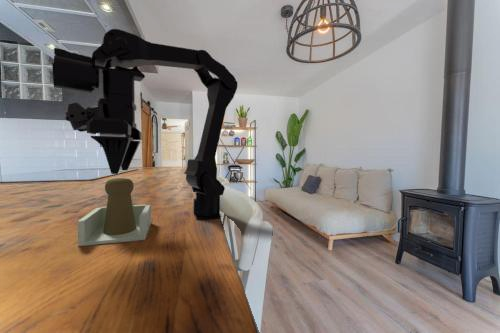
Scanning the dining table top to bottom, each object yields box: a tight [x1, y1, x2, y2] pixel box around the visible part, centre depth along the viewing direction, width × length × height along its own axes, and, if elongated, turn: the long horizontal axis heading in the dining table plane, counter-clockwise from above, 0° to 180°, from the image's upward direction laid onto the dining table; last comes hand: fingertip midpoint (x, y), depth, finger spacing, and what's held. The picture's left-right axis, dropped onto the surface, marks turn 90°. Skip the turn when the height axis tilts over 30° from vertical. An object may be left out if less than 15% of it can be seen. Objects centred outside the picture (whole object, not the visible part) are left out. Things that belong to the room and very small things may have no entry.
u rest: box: [77, 203, 152, 247], centre depth 46 cm, size 11×11×5 cm
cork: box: [103, 177, 136, 235], centre depth 46 cm, size 6×6×11 cm
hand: (120, 171), depth 47 cm, fingers open, 9 cm apart
